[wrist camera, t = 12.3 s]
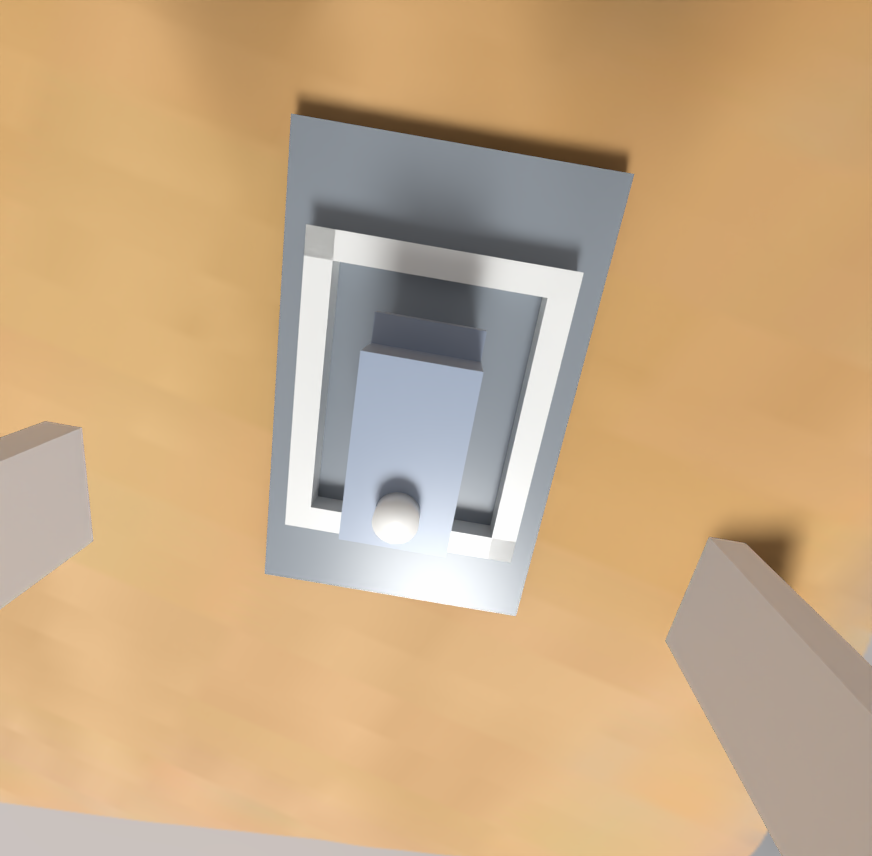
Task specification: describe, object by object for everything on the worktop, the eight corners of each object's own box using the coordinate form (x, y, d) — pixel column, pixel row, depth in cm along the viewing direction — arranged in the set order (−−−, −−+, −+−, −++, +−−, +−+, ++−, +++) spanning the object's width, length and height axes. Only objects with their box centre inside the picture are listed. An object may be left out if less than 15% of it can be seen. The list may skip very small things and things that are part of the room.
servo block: (392, 304, 21) (359, 317, 14) (480, 320, 21) (492, 341, 14) (367, 489, 23) (330, 577, 16) (445, 502, 23) (440, 596, 16)
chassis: (299, 121, 19) (280, 102, 17) (625, 179, 19) (645, 167, 17) (271, 563, 26) (255, 587, 24) (513, 603, 26) (518, 631, 24)
